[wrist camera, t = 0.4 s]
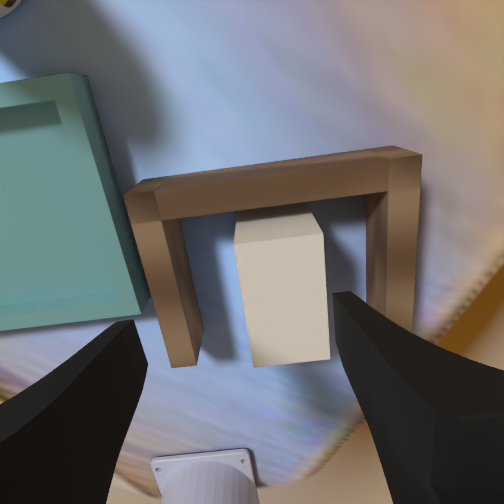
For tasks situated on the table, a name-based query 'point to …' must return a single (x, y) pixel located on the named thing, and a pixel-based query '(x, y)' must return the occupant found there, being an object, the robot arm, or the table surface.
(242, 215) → the cream rectangular block
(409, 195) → the bay
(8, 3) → the supplement bottle
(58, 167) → the tray
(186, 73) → the table surface
